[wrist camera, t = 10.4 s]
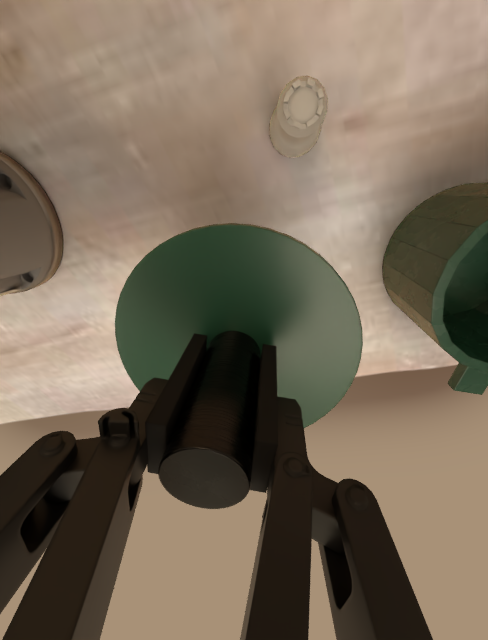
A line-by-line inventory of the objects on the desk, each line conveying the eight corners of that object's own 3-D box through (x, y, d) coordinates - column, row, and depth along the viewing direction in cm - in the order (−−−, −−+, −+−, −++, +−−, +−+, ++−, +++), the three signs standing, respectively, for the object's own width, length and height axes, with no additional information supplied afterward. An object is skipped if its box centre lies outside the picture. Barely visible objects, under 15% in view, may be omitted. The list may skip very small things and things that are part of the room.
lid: (131, 410, 21) (39, 553, 13) (114, 204, 14) (-97, 223, 6) (323, 442, 20) (356, 613, 12) (394, 242, 14) (568, 319, 6)
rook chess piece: (263, 108, 24) (259, 73, 16) (315, 89, 23) (335, 43, 16) (275, 165, 25) (276, 155, 18) (323, 149, 25) (345, 132, 17)
